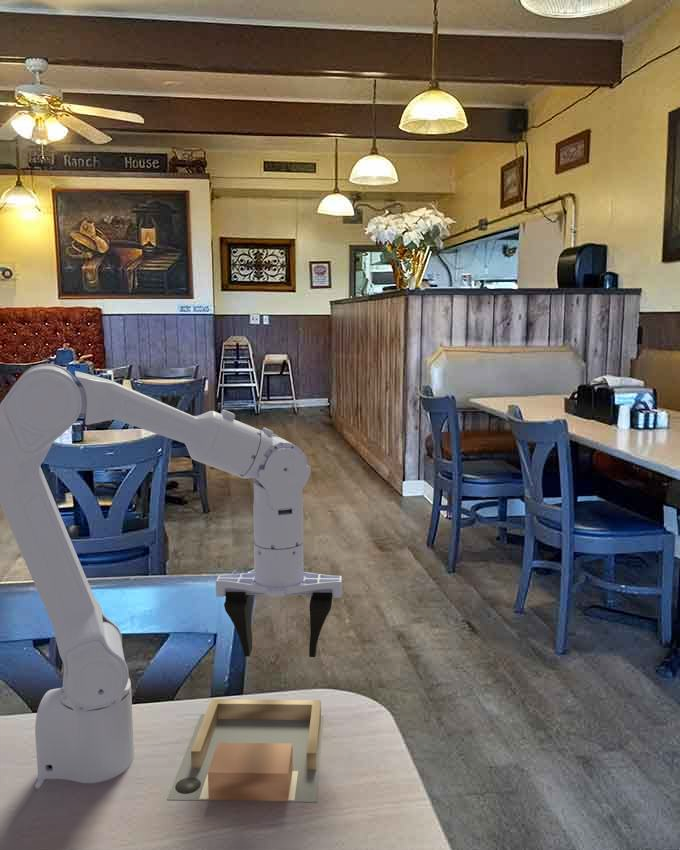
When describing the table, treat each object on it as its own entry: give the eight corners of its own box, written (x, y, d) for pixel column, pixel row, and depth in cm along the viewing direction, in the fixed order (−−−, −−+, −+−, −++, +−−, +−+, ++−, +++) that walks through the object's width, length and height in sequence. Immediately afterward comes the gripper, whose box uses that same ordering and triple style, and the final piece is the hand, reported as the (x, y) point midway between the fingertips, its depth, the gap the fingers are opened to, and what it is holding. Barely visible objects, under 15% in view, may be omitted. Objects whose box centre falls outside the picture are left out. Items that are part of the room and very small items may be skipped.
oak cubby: (191, 768, 75) (190, 751, 75) (211, 714, 85) (211, 699, 85) (316, 770, 75) (315, 752, 74) (321, 715, 85) (321, 700, 85)
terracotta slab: (208, 799, 70) (207, 772, 70) (218, 768, 75) (217, 742, 74) (288, 801, 70) (287, 773, 69) (292, 769, 75) (292, 743, 74)
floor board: (167, 805, 70) (167, 799, 70) (201, 718, 85) (201, 714, 85) (316, 807, 70) (316, 801, 70) (323, 720, 85) (323, 715, 85)
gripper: (208, 552, 77) (212, 668, 79) (340, 553, 76) (340, 670, 78) (221, 533, 84) (224, 640, 86) (342, 534, 83) (342, 641, 85)
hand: (280, 652), depth 82 cm, fingers open, 7 cm apart
